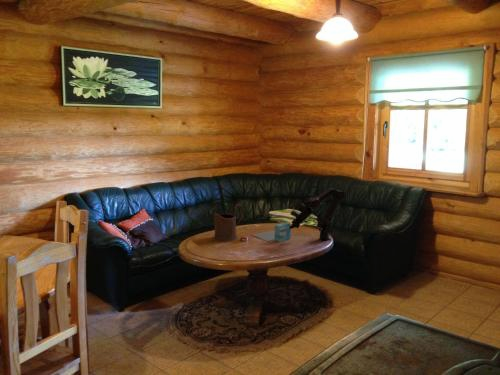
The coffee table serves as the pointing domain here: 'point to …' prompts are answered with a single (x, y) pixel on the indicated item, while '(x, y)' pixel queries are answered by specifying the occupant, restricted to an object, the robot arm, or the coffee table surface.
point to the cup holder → (226, 226)
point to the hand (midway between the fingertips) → (289, 228)
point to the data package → (282, 232)
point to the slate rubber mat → (266, 235)
